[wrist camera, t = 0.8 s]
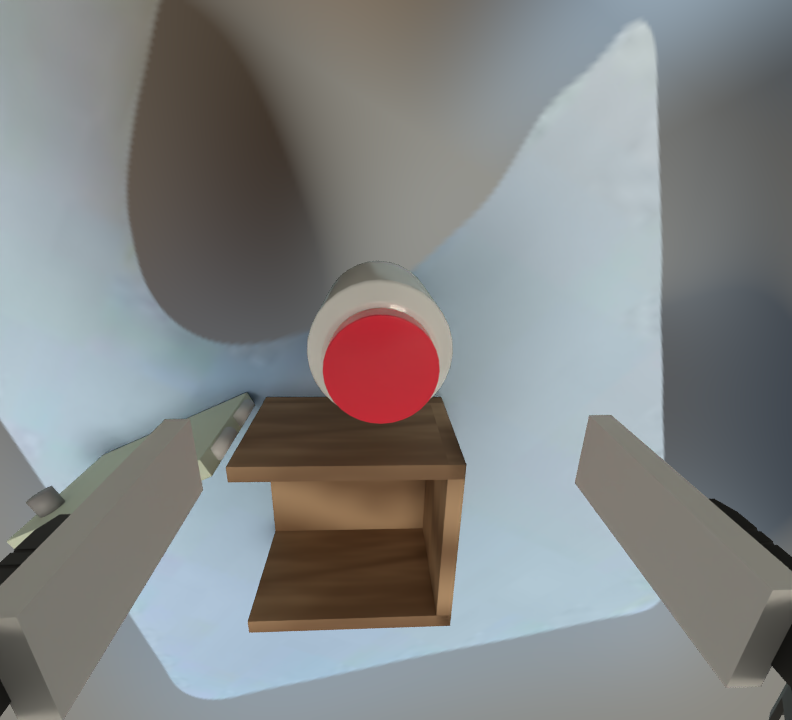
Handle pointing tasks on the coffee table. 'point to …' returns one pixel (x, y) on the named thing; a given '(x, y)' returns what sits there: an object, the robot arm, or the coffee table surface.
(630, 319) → the coffee table surface
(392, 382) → the pill bottle
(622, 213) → the coffee table surface
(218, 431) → the door
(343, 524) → the box
